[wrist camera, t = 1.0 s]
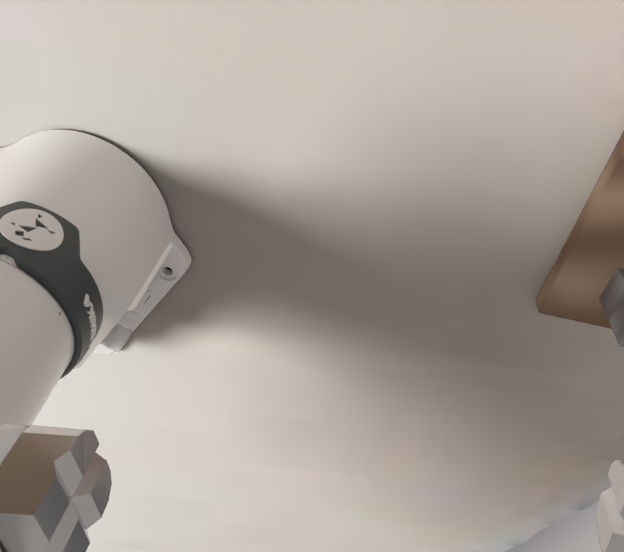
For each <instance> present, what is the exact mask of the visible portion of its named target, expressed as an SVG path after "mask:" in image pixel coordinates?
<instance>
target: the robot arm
mask: <svg viewBox="0 0 624 552" xmlns="http://www.w3.org/2000/svg"><path fill="white" fill-rule="evenodd" d="M190 265H191V256H190V254H189V252H188V250H187V249H186V247H185V246H184V244H183V243H182V241H181V240H180V239H179V238H178V236H177V235H176V234H175V232H174V229H173V227H172V224H171V220H170V216H169V212H168V209H167V206H166V203H165V201H164V199H163V197H162V195H161V193H160V191H159V189H158V187H157V186H156V184H155V183H154V181H153V180H152V179H151V177H150V176H149V175H148V174H147V172H146V171H145V170H144V169H143V168H142V167H141V166H140V165H139V164H138V163H137V162H136V161H135V160H134V159H132V158H131V157H130V156H129V155H127V154H126V153H125V152H123V151H122V150H120V149H119V148H117V147H116V146H114V145H112V144H110V143H108V142H106V141H104V140H102V139H100V138H97V137H95V136H92V135H89V134H86V133H82V132H77V131H71V130H46V131H41V132H37V133H34V134H31V135H29V136H26V137H24V138H23V139H21V140H19V141H18V142H16V143H14V144H12V145H10V146H8V147H0V552H86V550H87V548H88V546H89V544H90V541H89V537H88V532H87V529H88V528H89V527H90V526H91V525H93V524H94V523H95V522H96V521H97V520H99V519H100V518H101V517H102V515H103V512H104V510H105V508H106V505H107V503H108V500H109V495H110V489H111V484H112V482H111V471H110V468H109V466H108V463H107V461H106V460H105V459H103V458H102V457H101V456H100V455H98V454H97V453H96V450H97V448H98V446H99V442H98V439H97V437H96V435H95V433H94V431H93V430H81V429H69V428H57V427H45V426H34V425H32V423H33V422H34V420H35V418H36V416H37V415H38V413H39V411H40V410H41V408H42V406H43V405H44V403H45V401H46V400H47V398H48V397H49V395H50V393H51V392H52V390H53V388H54V387H55V385H56V384H57V382H58V381H59V379H61V378H63V377H64V376H65V375H67V374H68V373H69V372H70V371H71V370H72V369H75V368H78V367H80V366H81V365H82V364H83V363H84V362H85V360H86V359H87V358H88V357H89V356H90V355H91V353H93V354H112V353H114V352H117V353H118V352H119V351H120V350H121V349H122V347H123V346H124V344H125V343H126V342H127V340H128V338H129V337H130V335H131V333H132V332H133V331H134V330H135V329H136V327H137V326H138V325H139V324H140V323H141V322H142V321H143V320H144V318H145V317H146V316H147V315H148V314H149V313H150V312H151V310H152V309H153V308H154V307H155V306H156V305H157V304H158V303H159V301H160V300H161V299H162V298H163V297H164V296H165V295H166V294H167V292H168V291H169V290H170V289H171V288H172V287H173V286H174V284H175V283H176V282H177V281H178V280H179V279H180V278H181V277H182V275H183V274H184V273H185V272H186V271H187V269H188V268H189V267H190ZM166 267H169V268H171V269H172V271H171V270H168V269H167V268H166ZM608 478H609V481H610V484H611V487H610V488H608V489H607V490H605V491H603V492H602V493H601V495H600V498H599V501H598V505H597V531H598V538H599V542H600V546H601V550H602V552H624V459H616V460H615V461H614V462H613V463H612V464H611V466H610V469H609V472H608Z"/></svg>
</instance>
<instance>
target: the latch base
mask: <svg viewBox="0 0 624 552" xmlns="http://www.w3.org/2000/svg"><path fill="white" fill-rule="evenodd" d="M536 304H537V308H538V311H539V313H543V314H548V315H552V316H557V317H561V318H566V319H570V320H575V321H579V322H584V323H588V324H593V325H597V326H602V327H606V328H611V329H612V330H613V332H614V334H615V336H616V339H617V341H618V343H619V346H620V347H624V132H623V134H622V136H621V138H620V140H619V141H618V143H617V145H616V147H615V149H614V151H613V153H612V155H611V157H610V159H609V161H608V163H607V165H606V167H605V168H604V170H603V172H602V174H601V176H600V178H599V180H598V182H597V184H596V186H595V188H594V190H593V192H592V193H591V195H590V197H589V199H588V201H587V203H586V205H585V207H584V209H583V211H582V213H581V215H580V217H579V219H578V220H577V222H576V224H575V226H574V228H573V230H572V232H571V234H570V236H569V238H568V240H567V242H566V244H565V245H564V247H563V249H562V251H561V253H560V255H559V257H558V259H557V261H556V263H555V265H554V267H553V269H552V271H551V272H550V274H549V276H548V278H547V280H546V282H545V284H544V286H543V288H542V290H541V292H540V294H539V296H538V297H537V299H536Z"/></svg>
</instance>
